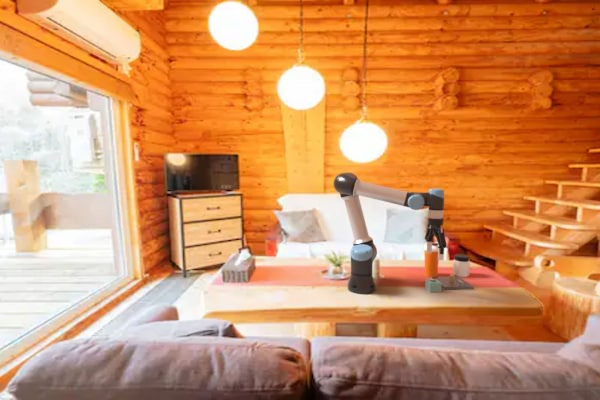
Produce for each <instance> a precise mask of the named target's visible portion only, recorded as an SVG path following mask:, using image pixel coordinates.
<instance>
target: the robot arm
mask: <svg viewBox="0 0 600 400" xmlns="http://www.w3.org/2000/svg"><path fill="white" fill-rule="evenodd" d="M333 187H334V190H335V191H336V192H337V193H339V195H340V198H341V200H343V201H344V204H345V208H346V213H347V216H348V220H349V223H350V227H351V232H352V235H353V242H352V245H353V246H352V247H351V249H350V276H349V279H348V282H347V289H348V291H349V292H352V293H354V294H355V293H356V294H361V295H362V294H365V295H366V294H367V295H368V294H372V293H375V292H376V288H377V287H376V282H375V280H374V279H375V278H374V276H373V263H374V261H375V259H376V257H377V255H378V254H377V253H378V251H377V250H378V249H377V246H376V245H375V243H374V239H373V238H372V237H371V236H370V235H369V232H368V231H369V230H368V226H367V224H366V219H365V216H364V212H363V209H362V204H361V201H360V196H361V197H365V198H369V199H373V200H378V201H382V202H386V203H389V204H394V205H397V206H402V207H406V208H409V209H411V210H415V211H417V210H418V211H419V210H421V209H422V208H423V207H428V210H427V211H428V212H427V213H428V215H427V216H428V218H427V219H428V222H427V227H426V231H425V232H426V233H425V236H424V240H425V241H426V243H427V250H426V253H432V243H433V238H434V237H435V238H436V241H437V242H436V243H438V246H439V247H438V260H439V261H444V259H445V256H444V255H445V248H447V241H446V237H445V229H444V228H441V226H444V213H445V210H444V209H445V208H444V207H445V190H444V189H443V188H429V190H428V191H427V192H416V191H411V192H410V191H405V190H400V189H395V188H392V187H388V186H387V187H386V186H383V185H378V184H374V183H370V182H367V181H366V182H365V181H363V180H360V179H359V178H358V176H357V175H356V174H355V173H352V172H342V173H340V174H337V175H336V176H335V178H334V180H333Z"/></svg>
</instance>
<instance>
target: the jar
mask: <svg viewBox="0 0 600 400" xmlns="http://www.w3.org/2000/svg"><path fill="white" fill-rule="evenodd" d="M453 258H454V259H453V263H452V264H453V265H452V266H453V269H452V270H453V271H452V274H454V275H455V277H460V278H467V276H468V277H470V263H471V262H470V261H471V260H470V255H467V254H462V253H456V254H454V256H453Z"/></svg>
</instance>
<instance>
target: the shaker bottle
mask: <svg viewBox="0 0 600 400" xmlns="http://www.w3.org/2000/svg"><path fill="white" fill-rule="evenodd" d="M438 247H439V245H438V242H432V253H426V250H427V242H425V244H424V247H423V251H424V275H425V277H426V276H427V277H430V278H432V277H438V274H439V273H438V272H439V263H440V262H439V261H440V260H438Z"/></svg>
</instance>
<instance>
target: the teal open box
mask: <svg viewBox="0 0 600 400" xmlns="http://www.w3.org/2000/svg"><path fill="white" fill-rule="evenodd" d="M441 284H442V283H441V282H440V281H439V280H437V279H432V278H427V279H425V289H426V290H427V291H428V292H429V293H442V287H441Z"/></svg>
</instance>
